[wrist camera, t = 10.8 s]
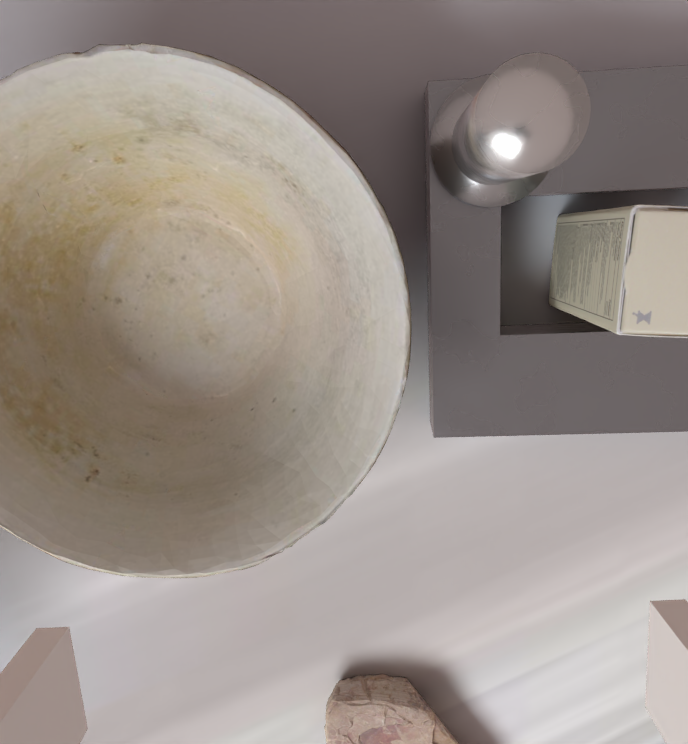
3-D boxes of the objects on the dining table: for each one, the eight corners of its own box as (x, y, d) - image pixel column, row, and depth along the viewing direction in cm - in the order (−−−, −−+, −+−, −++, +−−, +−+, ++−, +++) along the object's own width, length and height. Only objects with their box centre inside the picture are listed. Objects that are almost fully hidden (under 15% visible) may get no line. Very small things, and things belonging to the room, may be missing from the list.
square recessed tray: (429, 420, 38) (433, 437, 35) (424, 93, 34) (428, 81, 31) (748, 412, 37) (779, 429, 34) (782, 71, 33) (821, 56, 30)
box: (624, 309, 36) (726, 348, 25) (545, 305, 36) (613, 342, 25) (637, 211, 35) (751, 208, 24) (556, 208, 35) (633, 203, 24)
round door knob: (426, 210, 35) (447, 206, 24) (424, 93, 34) (445, 27, 22) (538, 205, 35) (615, 198, 23) (540, 86, 33) (624, 14, 22)
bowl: (493, 323, 36) (533, 361, 27) (203, 570, 41) (148, 678, 32) (199, -10, 33) (124, -104, 24) (-77, 298, 38) (-234, 325, 28)
